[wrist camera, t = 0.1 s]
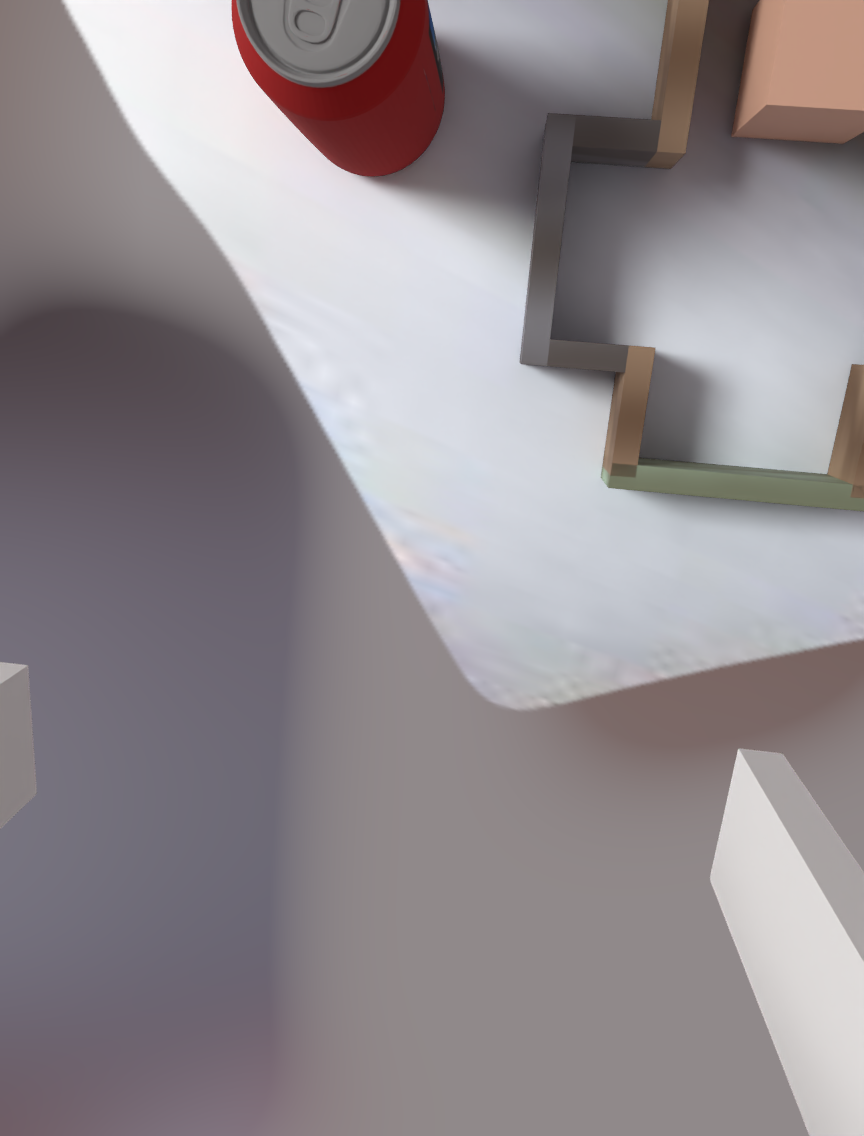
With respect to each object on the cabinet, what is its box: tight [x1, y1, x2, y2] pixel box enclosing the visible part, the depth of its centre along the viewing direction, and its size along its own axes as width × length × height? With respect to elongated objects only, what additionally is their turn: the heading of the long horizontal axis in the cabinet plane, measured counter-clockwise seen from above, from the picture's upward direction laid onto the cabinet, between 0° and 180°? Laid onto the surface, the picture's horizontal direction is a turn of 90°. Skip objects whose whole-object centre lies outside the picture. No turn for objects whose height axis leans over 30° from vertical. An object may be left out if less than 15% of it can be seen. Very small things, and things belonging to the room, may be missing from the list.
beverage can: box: [232, 0, 445, 176], centre depth 31 cm, size 7×7×12 cm
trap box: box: [520, 0, 864, 511], centre depth 35 cm, size 23×22×3 cm
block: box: [731, 0, 864, 144], centre depth 32 cm, size 5×5×5 cm
